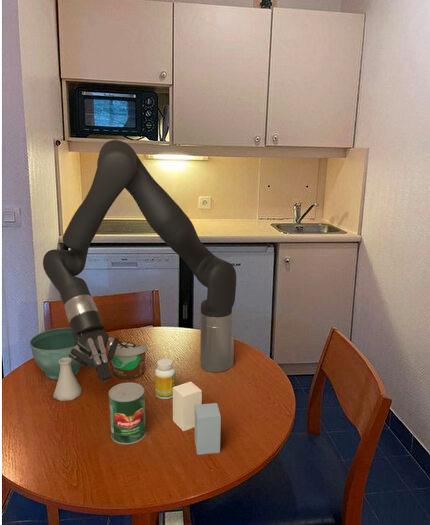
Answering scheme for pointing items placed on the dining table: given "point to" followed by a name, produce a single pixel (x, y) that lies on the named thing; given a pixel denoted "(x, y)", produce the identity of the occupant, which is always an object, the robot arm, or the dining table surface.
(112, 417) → the canned tomato
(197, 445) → the slate-blue block
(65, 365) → the flask
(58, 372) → the flower pot
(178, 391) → the cream block
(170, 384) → the supplement bottle
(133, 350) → the food container
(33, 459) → the dining table surface
